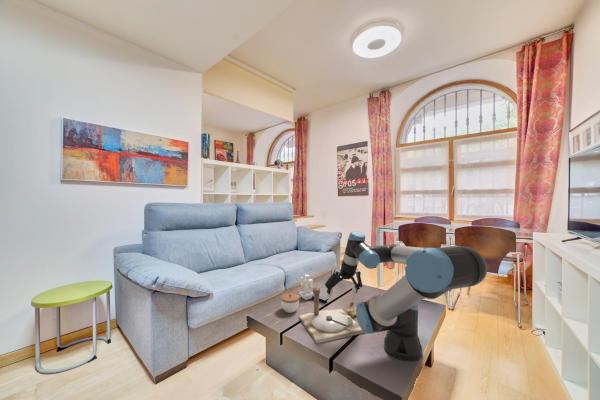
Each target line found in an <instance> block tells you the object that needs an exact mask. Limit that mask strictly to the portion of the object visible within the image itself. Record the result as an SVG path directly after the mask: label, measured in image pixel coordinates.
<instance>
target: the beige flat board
mask: <svg viewBox="0 0 600 400" xmlns="http://www.w3.org/2000/svg"><path fill="white" fill-rule="evenodd" d="M329 310H330V311H336V312H339V313H342V314H343V315H345V316H346V317H347V319H348V326H349V327H346V328H345V329H344V330H342V331H338V332H324V331H321V330H318V329H316V328H315V327H313V326H312V324H311V316H312V315H313V314H314V312H309V313H303V314H299V317H298V318H299V321H301V323H302V324H303V326H304V327H305V329H306V330H307V331H308V333H309V334H310V335H311V337H312V338H313V340H314V342H315V343H316V344H322V343H326V342H331V341H334V340H340V339H343V338H348V337H352V336H357V335H361V334H365V333H364V332H363V331H362V329H361V328H360V325H359V323H358V321H355V319H353V318H352V317H351V315H348V313H347V312H345V311H344V310H343V309H342V308H341V307H338V308H331V309H329Z"/></svg>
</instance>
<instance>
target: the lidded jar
mask: <svg viewBox="0 0 600 400" xmlns="http://www.w3.org/2000/svg"><path fill="white" fill-rule="evenodd" d="M280 304H281V307H282V309H283V310H284V312H285V313H288V314H290V313H291V314H292V313H294V312H295V311H297V309H298V308H299V304H300V294H296V293H292V292H291V293H290V292H289V293H284V294H282V295H280Z"/></svg>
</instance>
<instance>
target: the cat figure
mask: <svg viewBox="0 0 600 400" xmlns="http://www.w3.org/2000/svg"><path fill="white" fill-rule="evenodd" d="M369 300H370V299H368V300H366V301H369ZM354 304H355V302H353V301H351V302H350V303H349V305H348V306H349V307H348V308H350V309H347V311H346V313H347V314H348V315H349V316H350V317H351V318H352V319H353V318H355V317H357V316H356V306H355V307H354Z"/></svg>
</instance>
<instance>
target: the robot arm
mask: <svg viewBox="0 0 600 400" xmlns="http://www.w3.org/2000/svg"><path fill="white" fill-rule="evenodd" d="M365 241H366V235H365V234H364V233H362V232H359V231H351V232H350V233H349V236H348V238H347V241H346V242H347V243H346V247H345V250H344V254H343V257H342V258H343V259H342V261H341V265H340V269H339V270H337V269H334V271H333V273H332V274H331V275H330V276H329V278H328V279H327V281H325V283H324V286H325V287H326V293H327V294H326V298H327V300H328V301H331V300H332V299H331V298H332V295H333V291H334V289H333V288H335V286H336V285H339V283H340V282H342V281H344V280H345V281H346V280H350V279H351V281H352V283H353V285H352V288H351V289H352V290H351V291H350V296H349V297H350V298H351V299H352V300H355V297H356V294H357V293H358V290H360V289H361V288H363V282H362V278H361V277H362V276H361V274H362V273H361V271H360V269H358V265H359V262H360V264H361V265H363V266H364V267H365V268H366V269H369V270H370V269H371V270H372V269H374V268H377V267H378V266H379V264H383V263H395V264H399V265H405V266H404V272H405V273H404V275H403V276H402V277H400V279H398V281H396V282H395V283H394V284H393V285H391V287H389V288H388V289H386V290H385V291H384V292H383V293H382V294H376V295H373V296H372V297H370V299H368V300H369V301H367V300H366V301H361V302H358V303H356V306H355V307H356V316H355V317H356V320H357V323H358V324H359V325H360V328H361V329H362V331H363V332H364V333H363V334H368V335H369V334H371V335H373V334H376V333H380V332H386V333H385V337H384V339H383V348H384V349H385V351H386V352H387V354H389V355H390V356H392V357H394V358H396V359H398V360H402V361H405V362H414V361H415V362H416V361H418V360H420V359H421V358H422V357H423V346H422V345H421V340H420V337H419V333H418V331H419V330H418V329H419V328H418V326H419V325H418V324H419V308H418V307H419V305H418V304H419V303H420V302H422V301H423V300H425V299H428V300H435V299H437V298H439V297H441V296H442V295H444V294H446V293H448V292H449V291H452V290H456V289H462V288H469V287H475V286H476V285H478V284H480V283H482V282H483V281H484V280H485V278H486V276H487V273H488V265H487V262H486V260H485V258H484V256H483V255H482V254H481V253H480V252H479V251H477V250H476V249H474V248H472V247H469V246H463V245H458V246H457V245H455V246H445V247H441V246H440V247H418V246H406V245H401V244H396V243H395V244H386V245H370V246H369V245H368V244H367V243H366V242H365ZM355 275H356V279H355V277H354V276H355ZM356 280H357V281H356Z"/></svg>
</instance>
